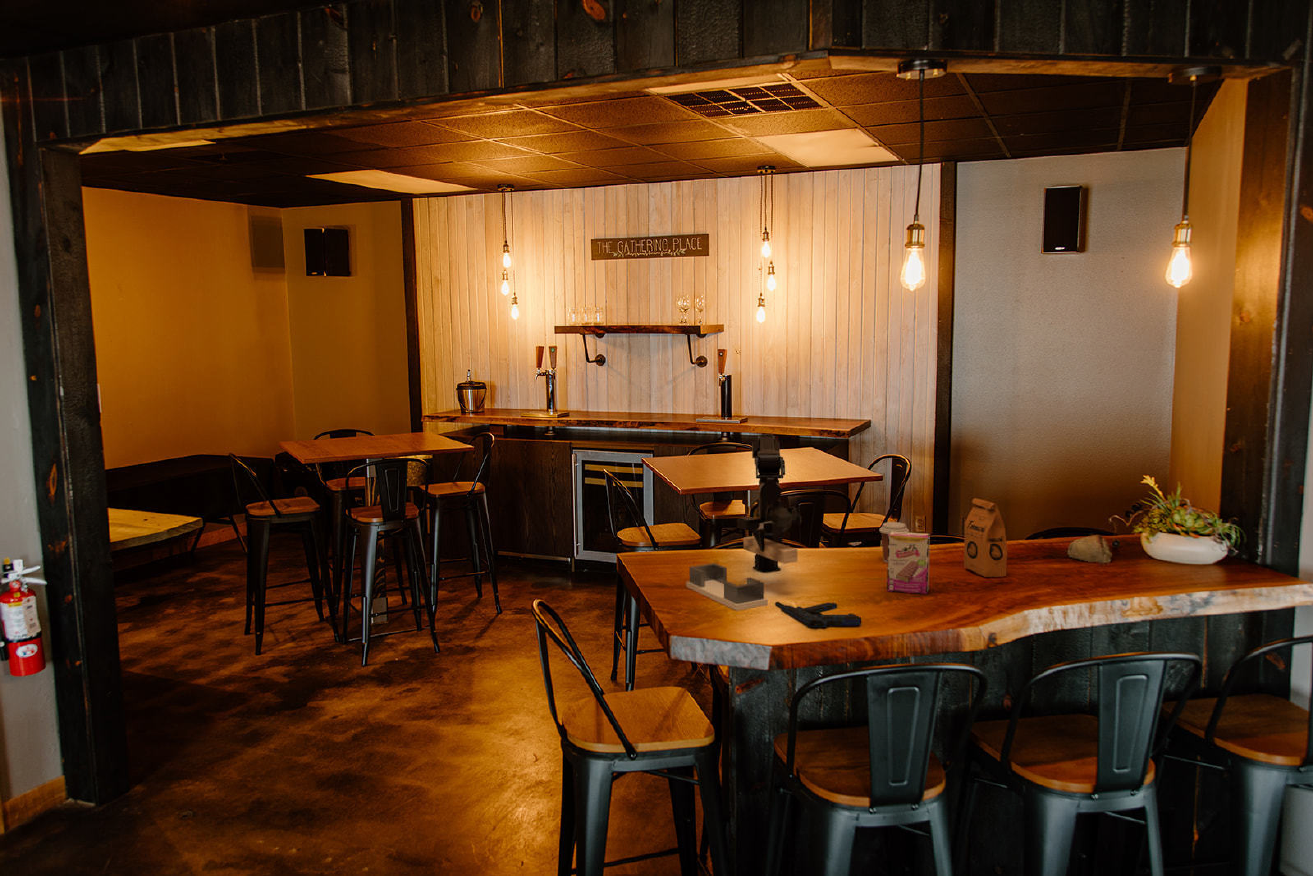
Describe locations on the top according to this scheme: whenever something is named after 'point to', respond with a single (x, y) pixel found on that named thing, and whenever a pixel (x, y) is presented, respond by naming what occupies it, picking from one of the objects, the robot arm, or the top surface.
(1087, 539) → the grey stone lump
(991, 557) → the coffee package
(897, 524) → the coffee cup
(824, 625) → the gun
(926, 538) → the candy bar box
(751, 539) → the beige rectangular bar
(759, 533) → the robot arm
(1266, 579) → the top surface
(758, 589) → the end caps
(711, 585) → the end-cap board
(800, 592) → the top surface
